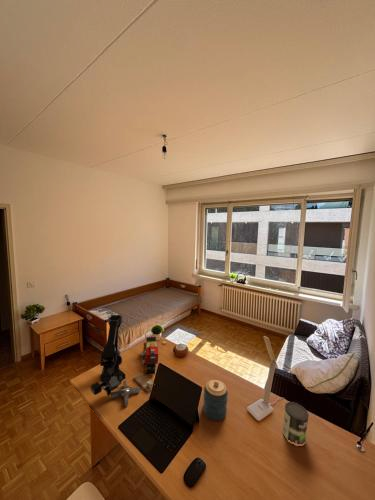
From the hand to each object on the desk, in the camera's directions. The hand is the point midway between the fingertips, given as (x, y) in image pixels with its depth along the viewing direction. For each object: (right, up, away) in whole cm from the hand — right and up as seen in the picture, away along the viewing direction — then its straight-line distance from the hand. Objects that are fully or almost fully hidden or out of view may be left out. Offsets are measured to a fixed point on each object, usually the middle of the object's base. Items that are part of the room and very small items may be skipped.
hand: (108, 395), depth 120 cm
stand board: (+19, -1, +12) cm, 22 cm away
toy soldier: (+18, +1, +32) cm, 37 cm away
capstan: (+9, -1, +2) cm, 10 cm away
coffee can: (+99, -8, -18) cm, 101 cm away
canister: (+61, -5, -5) cm, 61 cm away
